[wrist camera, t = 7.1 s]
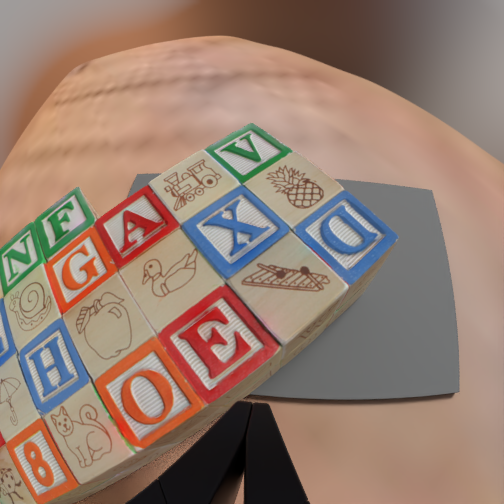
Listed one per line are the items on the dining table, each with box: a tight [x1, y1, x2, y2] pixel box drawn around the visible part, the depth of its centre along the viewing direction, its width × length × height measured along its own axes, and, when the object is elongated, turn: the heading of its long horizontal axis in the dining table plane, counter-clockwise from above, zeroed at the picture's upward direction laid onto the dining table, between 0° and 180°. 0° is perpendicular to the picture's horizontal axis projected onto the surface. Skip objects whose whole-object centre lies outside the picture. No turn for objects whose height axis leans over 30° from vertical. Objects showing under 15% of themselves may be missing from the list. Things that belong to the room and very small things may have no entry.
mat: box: [128, 174, 459, 400], centre depth 18 cm, size 14×22×1 cm, turn 84°
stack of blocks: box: [0, 123, 399, 504], centre depth 13 cm, size 21×6×12 cm
